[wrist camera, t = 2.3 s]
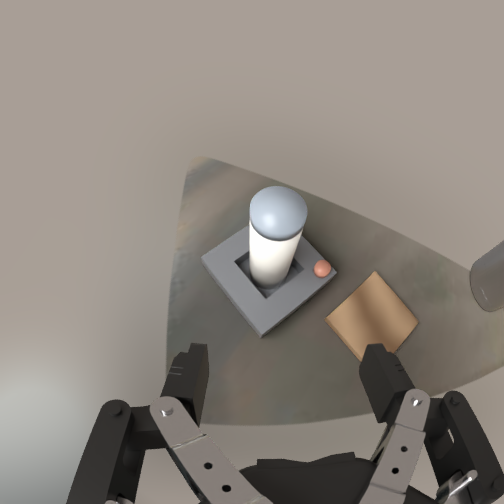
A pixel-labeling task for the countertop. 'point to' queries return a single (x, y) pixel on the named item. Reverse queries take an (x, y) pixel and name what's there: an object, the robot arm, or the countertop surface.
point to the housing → (261, 300)
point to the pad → (372, 317)
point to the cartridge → (274, 234)
